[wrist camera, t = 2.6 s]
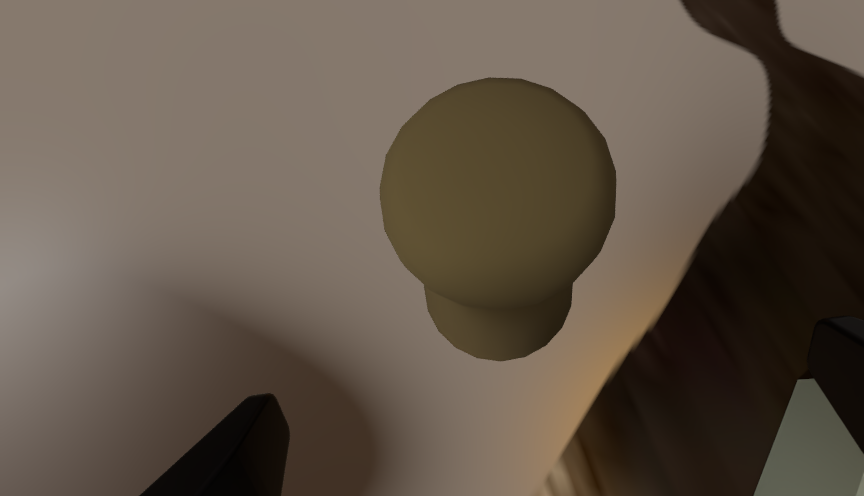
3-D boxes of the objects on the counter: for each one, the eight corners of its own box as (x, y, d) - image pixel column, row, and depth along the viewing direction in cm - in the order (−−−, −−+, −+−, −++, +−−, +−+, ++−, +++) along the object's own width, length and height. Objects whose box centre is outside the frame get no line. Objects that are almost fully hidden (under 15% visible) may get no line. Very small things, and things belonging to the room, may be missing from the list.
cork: (476, 192, 21) (453, -11, 11) (601, 265, 19) (720, 108, 9) (396, 305, 20) (282, 203, 9) (520, 393, 18) (547, 386, 8)
